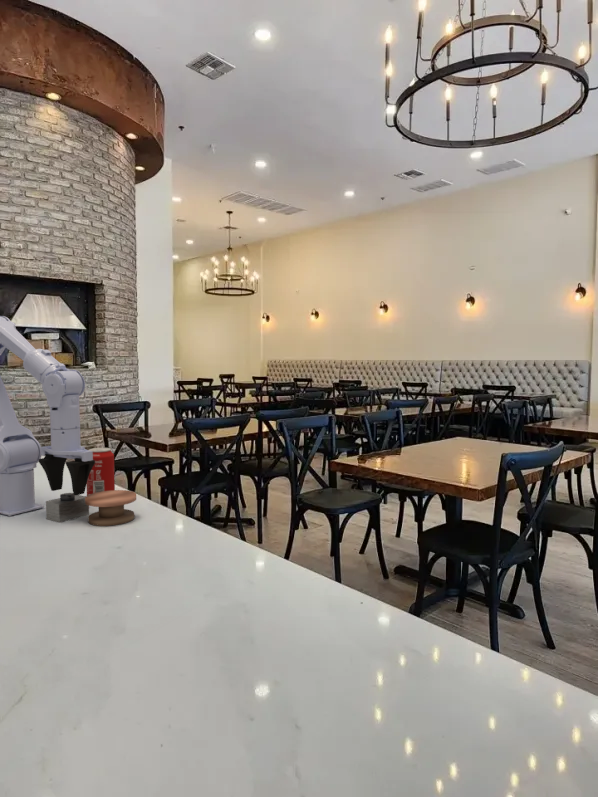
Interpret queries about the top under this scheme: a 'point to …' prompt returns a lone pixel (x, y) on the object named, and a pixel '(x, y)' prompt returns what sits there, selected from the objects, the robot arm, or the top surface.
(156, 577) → the top surface
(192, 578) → the top surface
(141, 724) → the top surface
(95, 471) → the beverage can
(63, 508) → the block
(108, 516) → the stand
